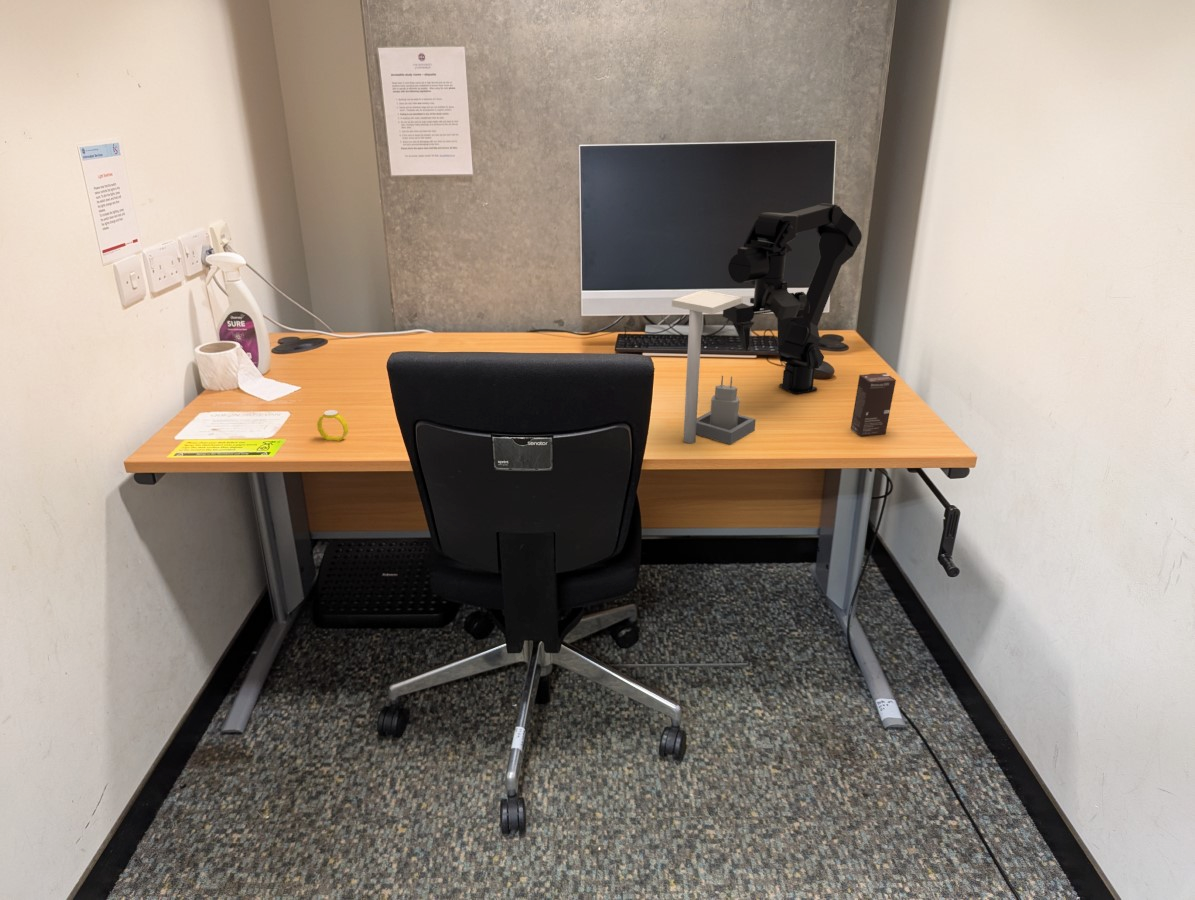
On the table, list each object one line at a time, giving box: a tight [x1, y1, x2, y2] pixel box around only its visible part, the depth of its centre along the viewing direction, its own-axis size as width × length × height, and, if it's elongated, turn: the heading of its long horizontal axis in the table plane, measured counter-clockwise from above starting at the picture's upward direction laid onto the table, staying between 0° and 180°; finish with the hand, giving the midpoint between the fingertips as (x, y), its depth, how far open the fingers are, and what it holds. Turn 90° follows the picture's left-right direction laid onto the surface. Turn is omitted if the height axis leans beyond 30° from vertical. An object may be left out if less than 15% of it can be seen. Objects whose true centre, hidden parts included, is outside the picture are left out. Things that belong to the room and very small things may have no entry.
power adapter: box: [710, 375, 740, 430], centre depth 164 cm, size 3×5×12 cm, turn 72°
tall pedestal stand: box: [671, 289, 757, 446], centre depth 159 cm, size 15×12×28 cm
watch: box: [316, 409, 349, 442], centre depth 161 cm, size 6×3×6 cm, turn 80°
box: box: [850, 372, 897, 437], centre depth 163 cm, size 6×4×12 cm
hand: (763, 347), depth 175 cm, fingers open, 9 cm apart
